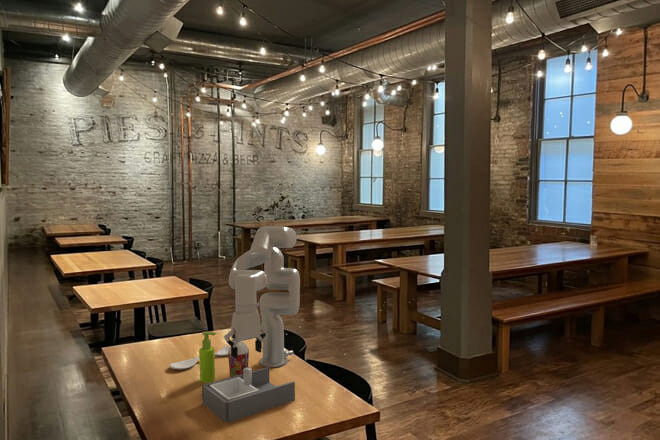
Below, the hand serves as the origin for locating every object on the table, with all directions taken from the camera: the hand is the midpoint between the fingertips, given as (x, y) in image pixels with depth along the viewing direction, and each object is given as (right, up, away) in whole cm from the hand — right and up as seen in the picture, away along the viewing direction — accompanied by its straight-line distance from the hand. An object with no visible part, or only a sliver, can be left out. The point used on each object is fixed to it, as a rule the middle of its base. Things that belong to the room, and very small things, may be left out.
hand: (246, 354), depth 183 cm
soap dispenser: (-19, -17, +22) cm, 34 cm away
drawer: (-4, -17, -1) cm, 18 cm away
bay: (0, -18, +2) cm, 18 cm away
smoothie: (-6, -17, +19) cm, 26 cm away
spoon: (-27, -15, +43) cm, 53 cm away
